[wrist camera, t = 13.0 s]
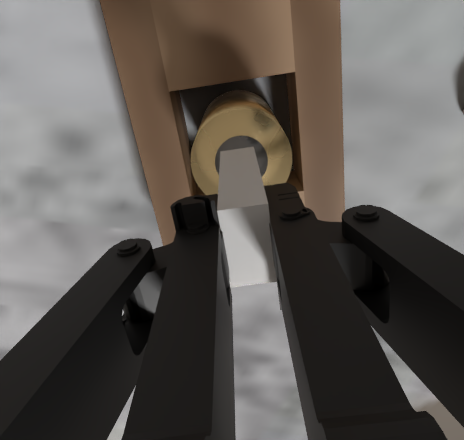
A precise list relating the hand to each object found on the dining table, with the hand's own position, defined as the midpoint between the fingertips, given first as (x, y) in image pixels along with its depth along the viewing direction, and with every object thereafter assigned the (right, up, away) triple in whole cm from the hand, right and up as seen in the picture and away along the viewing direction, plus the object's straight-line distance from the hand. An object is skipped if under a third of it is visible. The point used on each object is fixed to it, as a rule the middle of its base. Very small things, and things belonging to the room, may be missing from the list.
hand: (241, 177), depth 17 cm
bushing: (0, +4, +9) cm, 10 cm away
